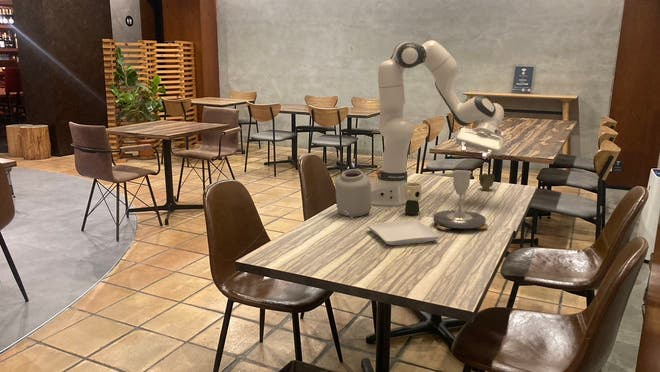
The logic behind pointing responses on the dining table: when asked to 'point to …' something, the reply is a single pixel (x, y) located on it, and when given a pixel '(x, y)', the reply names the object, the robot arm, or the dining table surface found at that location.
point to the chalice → (461, 188)
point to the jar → (353, 193)
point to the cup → (486, 181)
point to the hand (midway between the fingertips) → (473, 154)
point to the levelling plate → (459, 220)
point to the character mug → (412, 197)
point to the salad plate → (403, 232)
